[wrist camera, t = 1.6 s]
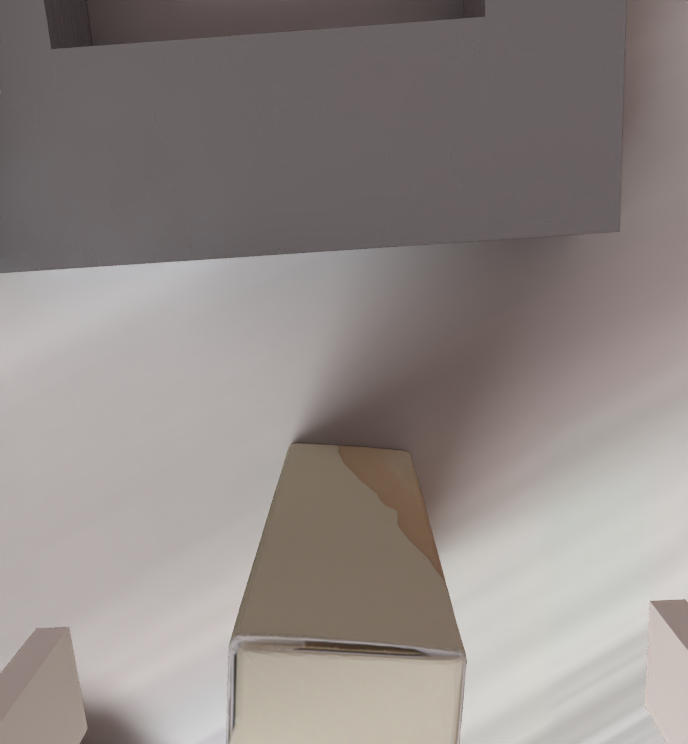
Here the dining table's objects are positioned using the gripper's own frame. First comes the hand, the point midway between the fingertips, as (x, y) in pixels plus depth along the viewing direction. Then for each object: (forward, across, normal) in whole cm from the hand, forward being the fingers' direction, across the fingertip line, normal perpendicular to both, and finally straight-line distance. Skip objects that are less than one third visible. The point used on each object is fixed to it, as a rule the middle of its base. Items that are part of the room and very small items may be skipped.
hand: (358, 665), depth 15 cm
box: (+8, 0, 0) cm, 8 cm away
